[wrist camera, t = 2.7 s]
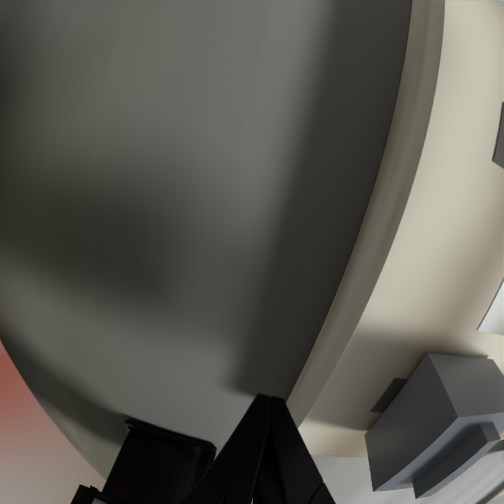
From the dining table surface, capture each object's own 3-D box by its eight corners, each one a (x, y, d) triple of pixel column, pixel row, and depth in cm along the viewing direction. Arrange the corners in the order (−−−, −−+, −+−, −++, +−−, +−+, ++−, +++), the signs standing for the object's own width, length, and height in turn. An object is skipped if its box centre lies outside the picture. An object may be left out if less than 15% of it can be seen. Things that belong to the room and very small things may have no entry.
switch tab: (364, 434, 10) (374, 508, 7) (427, 352, 8) (466, 438, 5) (431, 433, 10) (448, 494, 7) (492, 359, 8) (531, 423, 5)
